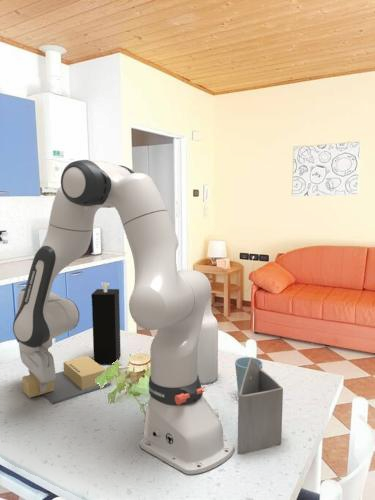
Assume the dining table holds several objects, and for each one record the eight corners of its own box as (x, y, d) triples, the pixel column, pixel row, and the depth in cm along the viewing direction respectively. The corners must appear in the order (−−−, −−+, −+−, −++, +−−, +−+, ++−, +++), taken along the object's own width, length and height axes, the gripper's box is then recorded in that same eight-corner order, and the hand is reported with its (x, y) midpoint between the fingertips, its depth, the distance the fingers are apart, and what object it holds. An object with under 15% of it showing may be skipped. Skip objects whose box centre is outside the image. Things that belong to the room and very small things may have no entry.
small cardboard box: (54, 390, 116) (53, 377, 115) (29, 397, 111) (28, 384, 111) (47, 383, 120) (46, 370, 120) (23, 389, 116) (22, 376, 115)
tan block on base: (111, 385, 120) (111, 371, 120) (52, 404, 109) (51, 388, 109) (86, 366, 134) (85, 353, 134) (31, 381, 123) (31, 367, 123)
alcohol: (208, 387, 119) (209, 289, 115) (184, 380, 124) (184, 286, 120) (222, 376, 126) (223, 284, 123) (199, 370, 131) (199, 281, 127)
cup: (267, 400, 111) (268, 364, 110) (244, 406, 108) (244, 369, 107) (252, 388, 118) (252, 355, 117) (230, 394, 115) (230, 359, 114)
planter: (272, 464, 84) (274, 377, 82) (236, 453, 88) (238, 370, 86) (288, 425, 99) (291, 351, 96) (257, 417, 102) (259, 345, 100)
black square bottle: (116, 365, 135) (114, 284, 132) (93, 364, 136) (90, 284, 132) (120, 356, 143) (119, 279, 140) (99, 356, 143) (96, 279, 140)
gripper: (60, 348, 108) (62, 396, 109) (35, 329, 124) (38, 372, 125) (36, 354, 104) (39, 404, 106) (14, 334, 120) (17, 377, 122)
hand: (38, 386), depth 116 cm, fingers closed on small cardboard box, 6 cm apart
